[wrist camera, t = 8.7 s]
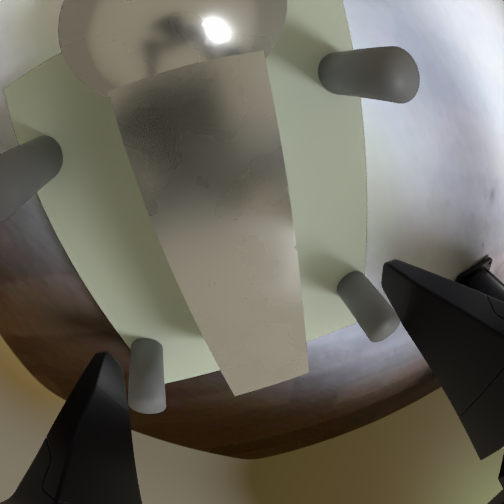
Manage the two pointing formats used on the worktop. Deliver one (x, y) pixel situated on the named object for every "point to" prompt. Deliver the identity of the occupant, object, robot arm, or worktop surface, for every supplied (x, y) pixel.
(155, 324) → the peg board
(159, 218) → the round-ended glossy bar
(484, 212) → the worktop surface
